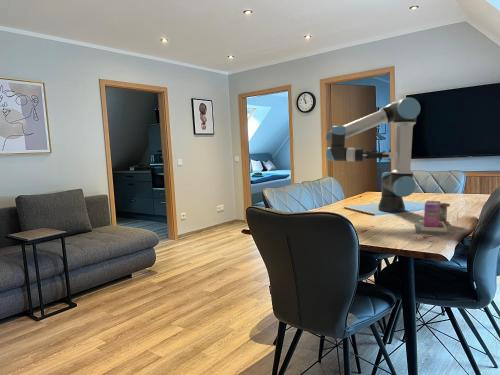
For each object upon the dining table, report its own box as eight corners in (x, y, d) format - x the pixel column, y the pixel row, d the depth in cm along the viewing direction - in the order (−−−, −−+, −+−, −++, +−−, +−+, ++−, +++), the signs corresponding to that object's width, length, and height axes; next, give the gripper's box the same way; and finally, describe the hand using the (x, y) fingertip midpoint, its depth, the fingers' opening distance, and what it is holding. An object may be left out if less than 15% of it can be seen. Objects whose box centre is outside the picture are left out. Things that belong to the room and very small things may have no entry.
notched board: (416, 233, 166) (416, 227, 166) (414, 225, 182) (414, 219, 181) (451, 235, 161) (451, 229, 161) (446, 226, 177) (446, 221, 176)
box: (437, 230, 165) (438, 204, 164) (423, 229, 168) (424, 203, 167) (439, 225, 174) (440, 201, 172) (426, 224, 177) (426, 200, 175)
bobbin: (436, 224, 181) (436, 204, 180) (435, 222, 187) (435, 202, 186) (449, 225, 179) (450, 205, 178) (448, 222, 185) (449, 203, 183)
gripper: (358, 160, 213) (397, 161, 204) (351, 162, 190) (394, 164, 181) (359, 147, 212) (398, 147, 203) (351, 148, 189) (395, 148, 180)
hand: (397, 155), depth 192 cm, fingers open, 13 cm apart
